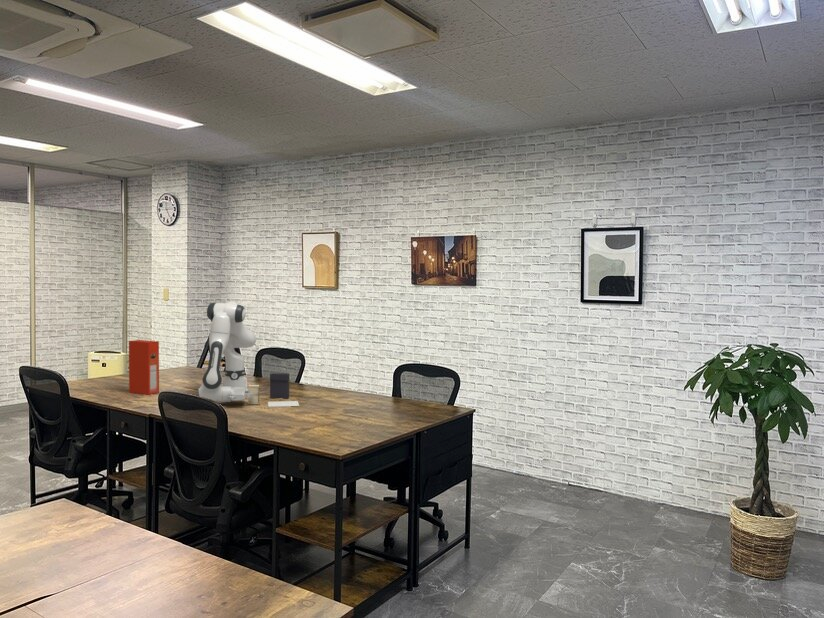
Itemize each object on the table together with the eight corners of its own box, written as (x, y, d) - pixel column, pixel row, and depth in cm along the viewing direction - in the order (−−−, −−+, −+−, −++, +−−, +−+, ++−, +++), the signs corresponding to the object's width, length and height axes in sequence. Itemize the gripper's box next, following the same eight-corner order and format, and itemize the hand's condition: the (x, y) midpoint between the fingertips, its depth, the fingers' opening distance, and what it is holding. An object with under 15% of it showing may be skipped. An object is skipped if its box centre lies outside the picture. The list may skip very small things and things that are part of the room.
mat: (267, 402, 368) (267, 401, 368) (297, 401, 372) (297, 400, 372) (268, 407, 355) (268, 406, 355) (299, 406, 359) (299, 405, 359)
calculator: (289, 397, 384) (289, 373, 384) (287, 399, 380) (287, 374, 379) (271, 397, 385) (272, 372, 385) (269, 398, 381) (269, 373, 380)
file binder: (148, 395, 384) (148, 342, 382) (128, 392, 392) (128, 340, 390) (159, 393, 391) (159, 341, 389) (139, 390, 399) (139, 339, 397)
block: (248, 402, 365) (248, 385, 364) (259, 402, 366) (259, 385, 366) (248, 404, 360) (248, 386, 359) (259, 404, 361) (259, 386, 361)
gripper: (227, 392, 349) (253, 391, 352) (229, 385, 369) (253, 385, 372) (227, 403, 350) (253, 402, 353) (229, 396, 369) (253, 395, 373)
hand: (253, 393), depth 363 cm, fingers closed on block, 5 cm apart
